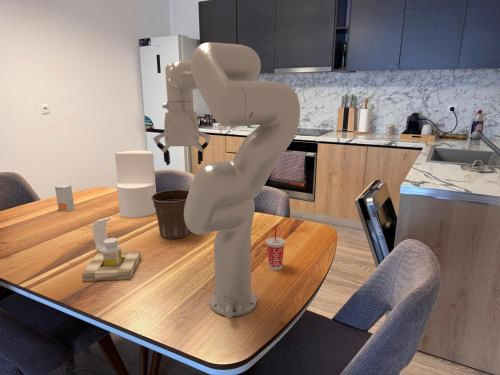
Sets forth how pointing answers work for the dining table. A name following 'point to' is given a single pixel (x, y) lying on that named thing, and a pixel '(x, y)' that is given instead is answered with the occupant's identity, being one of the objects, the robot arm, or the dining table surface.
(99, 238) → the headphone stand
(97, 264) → the socket block
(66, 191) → the skincare box
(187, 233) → the plant pot
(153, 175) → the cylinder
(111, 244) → the supplement bottle
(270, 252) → the beverage cup
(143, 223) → the dining table surface
